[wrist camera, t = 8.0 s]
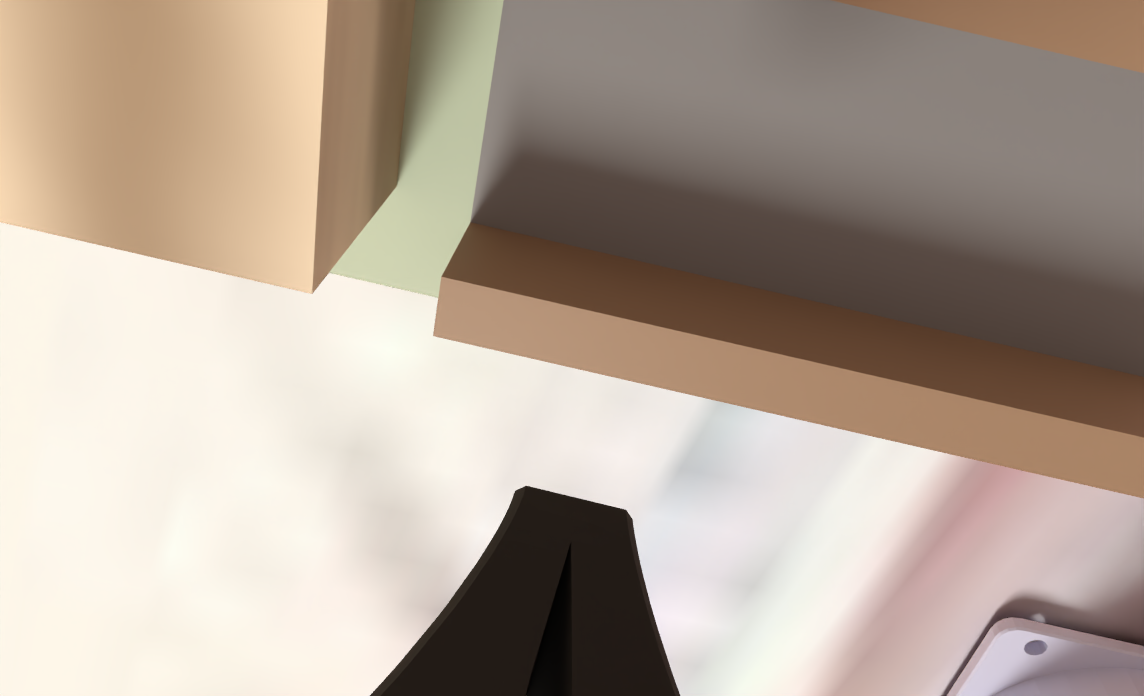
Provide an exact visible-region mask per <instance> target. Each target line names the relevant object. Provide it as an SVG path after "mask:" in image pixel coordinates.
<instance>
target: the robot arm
mask: <svg viewBox="0 0 1144 696" xmlns="http://www.w3.org/2000/svg"><path fill="white" fill-rule="evenodd" d="M1034 640H1037V641H1034ZM1030 641H1034V642H1030ZM526 695H527V696H680V694H679V691H678V688H677V686H676V683H675V680H674V677H673V674H672V671H671V668H670V665H669V662H668V659H667V656H666V653H665V650H664V647H663V644H662V641H661V637H660V634H659V631H658V628H657V625H656V622H655V618H654V615H653V611H652V608H651V604H650V601H649V597H648V593H647V589H646V585H645V581H644V578H643V573H642V569H641V565H640V560H639V556H638V551H637V546H636V540H635V534H634V528H633V520H632V518H631V517H630V515H629V514H628V512H627V511H626V510H624V509H620V508H616V507H612V506H608V505H604V504H599V503H595V502H591V501H587V500H583V499H579V498H575V497H570V496H566V495H562V494H558V493H554V492H550V491H546V490H541V489H537V488H533V487H529V486H525V487H523V488H521V489H518V490H516V491H515V493H514V496H513V499H512V501H511V504H510V506H509V508H508V510H507V513H506V515H505V517H504V519H503V521H502V523H501V524H500V526H499V528H498V530H497V532H496V533H495V535H494V537H493V538H492V540H491V542H490V543H489V545H488V546H487V548H486V550H485V551H484V553H483V554H482V556H481V557H480V559H479V561H478V562H477V564H476V565H475V566H474V568H473V569H472V571H471V572H470V573H469V575H468V576H467V578H466V579H465V580H464V582H463V583H462V585H461V586H460V587H459V589H458V590H457V592H456V593H455V594H454V596H453V597H452V599H451V600H450V601H449V603H448V604H447V606H446V607H445V608H444V609H443V611H442V612H441V613H440V615H439V616H438V617H437V618H436V620H435V621H434V622H433V623H432V624H431V626H430V627H429V628H428V629H427V630H426V632H425V633H424V634H423V635H422V636H421V638H420V639H419V640H418V641H417V642H416V644H415V645H414V646H413V647H412V649H411V650H410V651H409V652H408V653H407V655H406V656H405V657H404V658H403V659H402V661H401V662H400V663H399V664H398V665H397V666H396V668H395V669H394V670H393V671H392V672H391V673H390V674H389V675H388V676H387V678H386V679H385V680H384V681H383V682H382V683H381V684H380V685H379V686H378V688H377V689H376V690H375V691H374V692H373V693H372V694H371V695H370V696H526ZM947 696H1144V646H1141V645H1137V644H1132V643H1128V642H1123V641H1119V640H1115V639H1110V638H1106V637H1101V636H1097V635H1093V634H1088V633H1084V632H1079V631H1075V630H1071V629H1066V628H1062V627H1057V626H1053V625H1049V624H1044V623H1040V622H1035V621H1031V620H1027V619H1022V618H1014V617H1010V618H1005V619H1002V620H1000V621H998V622H996V623H995V624H994V625H993V626H992V627H991V628H990V630H989V632H988V633H987V635H986V636H985V638H984V639H983V641H982V642H981V644H980V645H979V647H978V648H977V650H976V651H975V653H974V654H973V656H972V658H971V659H970V661H969V662H968V664H967V665H966V667H965V668H964V670H963V671H962V673H961V674H960V676H959V677H958V679H957V681H956V682H955V684H954V685H953V687H952V688H951V690H950V691H949V693H948V694H947Z"/></svg>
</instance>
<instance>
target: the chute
mask: <svg viewBox="0 0 1144 696" xmlns="http://www.w3.org/2000/svg"><path fill="white" fill-rule="evenodd" d="M329 273H332V274H337V275H341V276H345V277H350V278H354V279H358V280H363V281H367V282H372V283H376V284H380V285H385V286H389V287H393V288H398V289H402V290H407V291H411V292H415V293H420V294H424V295H428V296H433V297H437V298H438V304H437V312H436V319H435V326H434V334H433V336H436V337H440V338H444V339H449V340H453V341H458V342H462V343H466V344H471V345H475V346H479V347H484V348H488V349H493V350H497V351H501V352H506V353H510V354H514V355H519V356H523V357H528V358H532V359H536V360H541V361H545V362H550V363H554V364H558V365H563V366H567V367H571V368H576V369H580V370H585V371H589V372H593V373H598V374H602V375H606V376H611V377H615V378H620V379H624V380H628V381H633V382H637V383H641V384H646V385H650V386H655V387H659V388H663V389H668V390H672V391H676V392H681V393H685V394H690V395H694V396H698V397H703V398H707V399H711V400H716V401H720V402H725V403H729V404H733V405H738V406H742V407H746V408H751V409H755V410H760V411H764V412H768V413H773V414H777V415H781V416H786V417H790V418H795V419H799V420H803V421H808V422H812V423H816V424H821V425H825V426H830V427H834V428H838V429H843V430H847V431H851V432H856V433H860V434H865V435H869V436H873V437H878V438H882V439H886V440H891V441H895V442H900V443H904V444H908V445H913V446H917V447H921V448H926V449H930V450H935V451H939V452H943V453H948V454H952V455H956V456H961V457H965V458H970V459H974V460H978V461H983V462H987V463H991V464H996V465H1000V466H1005V467H1009V468H1013V469H1018V470H1022V471H1026V472H1031V473H1035V474H1040V475H1044V476H1048V477H1053V478H1057V479H1061V480H1066V481H1070V482H1075V483H1079V484H1083V485H1088V486H1092V487H1096V488H1101V489H1105V490H1110V491H1114V492H1118V493H1123V494H1127V495H1132V496H1136V497H1140V498H1144V0H416V1H415V10H414V20H413V30H412V40H411V50H410V60H409V69H408V79H407V89H406V99H405V109H404V118H403V128H402V138H401V148H400V158H399V167H398V177H397V187H396V188H395V189H394V191H393V192H392V193H391V194H390V196H389V197H388V198H387V199H386V201H385V202H384V203H383V205H382V206H381V207H380V208H379V210H378V211H377V212H376V213H375V215H374V216H373V217H372V219H371V220H370V221H369V222H368V224H367V225H366V226H365V227H364V229H363V230H362V231H361V232H360V234H359V235H358V236H357V238H356V239H355V240H354V241H353V243H352V244H351V245H350V246H349V248H348V249H347V250H346V252H345V253H344V254H343V255H342V257H341V258H340V259H339V260H338V262H337V263H336V264H335V266H334V267H333V268H332V269H331V271H330V272H329Z"/></svg>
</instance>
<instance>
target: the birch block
mask: <svg viewBox="0 0 1144 696" xmlns="http://www.w3.org/2000/svg"><path fill="white" fill-rule="evenodd" d="M415 1H416V0H0V222H2V223H6V224H10V225H15V226H19V227H24V228H28V229H32V230H37V231H41V232H45V233H50V234H54V235H58V236H63V237H67V238H71V239H76V240H80V241H84V242H89V243H93V244H97V245H102V246H106V247H111V248H115V249H119V250H124V251H128V252H132V253H137V254H141V255H145V256H150V257H154V258H158V259H163V260H167V261H171V262H176V263H180V264H184V265H189V266H193V267H198V268H202V269H206V270H211V271H215V272H219V273H224V274H228V275H232V276H237V277H241V278H245V279H250V280H254V281H258V282H263V283H267V284H271V285H276V286H280V287H284V288H289V289H293V290H298V291H302V292H306V293H311V294H312V293H313V292H314V291H315V290H316V288H317V287H318V286H319V285H320V283H321V282H322V281H323V279H324V278H325V277H326V276H327V274H328V273H329V272H330V271H331V269H332V268H333V267H334V266H335V264H336V263H337V262H338V260H339V259H340V258H341V257H342V255H343V254H344V253H345V252H346V250H347V249H348V248H349V246H350V245H351V244H352V243H353V241H354V240H355V239H356V238H357V236H358V235H359V234H360V232H361V231H362V230H363V229H364V227H365V226H366V225H367V224H368V222H369V221H370V220H371V219H372V217H373V216H374V215H375V213H376V212H377V211H378V210H379V208H380V207H381V206H382V205H383V203H384V202H385V201H386V199H387V198H388V197H389V196H390V194H391V193H392V192H393V191H394V189H395V188H396V187H397V177H398V167H399V158H400V148H401V138H402V128H403V118H404V109H405V99H406V89H407V79H408V69H409V60H410V50H411V40H412V30H413V20H414V10H415Z"/></svg>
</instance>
